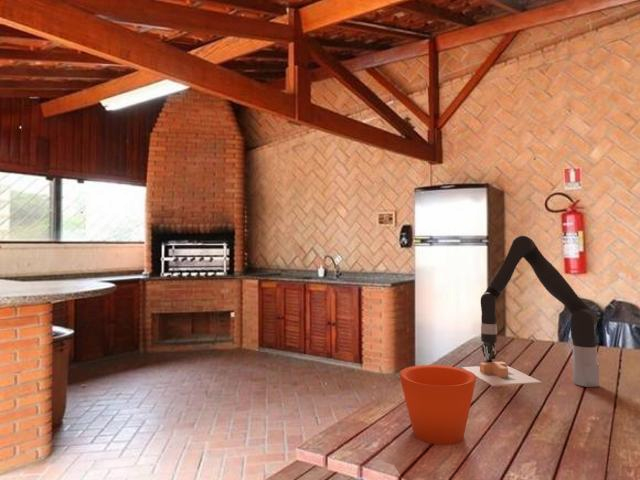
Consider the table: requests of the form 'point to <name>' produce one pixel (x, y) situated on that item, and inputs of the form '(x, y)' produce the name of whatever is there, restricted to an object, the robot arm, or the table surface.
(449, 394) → the flowerpot
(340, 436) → the table surface
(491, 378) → the board
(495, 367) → the t block
